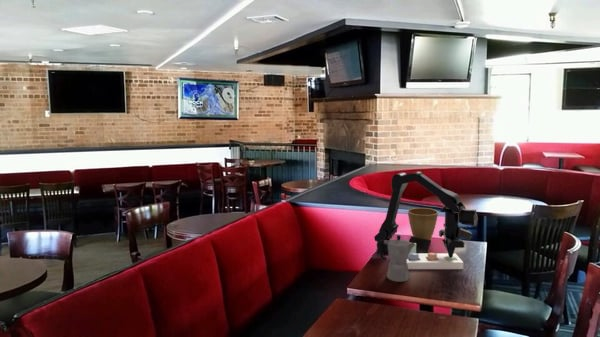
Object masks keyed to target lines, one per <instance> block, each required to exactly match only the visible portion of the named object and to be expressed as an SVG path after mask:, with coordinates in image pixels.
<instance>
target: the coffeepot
mask: <svg viewBox="0 0 600 337" xmlns="http://www.w3.org/2000/svg"><path fill="white" fill-rule="evenodd" d="M382 244H383V245H387V246H388V253H389V254H388V258H389V260H390V261H389V263H388V267H387V268H388V269H387V273H386V277H387V279H388V280H389V281H392V282H397V283H401V282H402V283H403V282H407V281H409V280H410V277H411V276H410V271H409V270H410V269H408V264H407V259H408V255H409V252H410V251H411V249H412V248H413V246H415V244H414V243H411V242H409V241H408V240H405V239H401V235H396V239H390V240H389V241H388V240H380V241H379V242H378V243H377V242H376V249H377V248H378V251H379V256H380V259H381V260H383V261H386V260H387V257H385V256H384V254H383V252H382V247H381V245H382Z"/></svg>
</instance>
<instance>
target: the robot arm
mask: <svg viewBox="0 0 600 337" xmlns="http://www.w3.org/2000/svg"><path fill="white" fill-rule="evenodd" d="M390 182H391V185H390V186H391V195H390V200H389V202H388V207H387V212H386V216H385V219H384V221H383V222H382V224H381V226H380V227H379V230H378V233H377V234H375V235H374V237H373V239H374V241H375V242H376V244H377V243H378V242H379V241H380V240H388V241H389V240H392V238H393V237H394V236H395V235H396V233H398V227H399V224H398V223H397V222H396V219H397V215H398V211H399V207H400V202H401V200H402V195H403V192H404V191H405V189H406V187H407V186H408V184H409V183H412V182H416V183H417V184H419V185H421V186H422V188H425V189H426V190H427V191H429V192H430V193H431V194H433V195H435V197H437V199H438V200H439V201H440V203H441V204H443V207H442V209H440V210H439V212H441V213H444V223H443V228H444V229H440V230H438V236H439V237H440V238H442V237H443V239H442V244H443V246H444V247H445V251H446V253H448V255H449V257H452V256H453V253H455V250H456V249H457V248H458V249H459V248H460V249H463V248H465V241H463V240H462V239H461V238H463V239H465V240H467V241H470V240H471V238H472V236H473V232H471V231H470V230H468V228H467V227H466V226H472V227H476V226H477V225H478V221H479V217H478V213H477V209H467V208H466V206H465V205H464V203H463V202H462V201H461V200H462V199H461V196H460V195H459V194H458V193H455V192H454V191H452V190H448V189H446V188H443V187H442V186H441V185H439V183H437V182H435V181H433V180H432V179H431V178H429V177H428V176H426V175H425V174H423V172H422V171H415V172H410V173H406V172H399V173H396V174H394V175H393V176H392V178H391V181H390ZM459 223H460V224H461V225H462V226H460V225H459ZM465 225H466V226H465ZM381 247H382V252H383V255H389V253H388V246H387V245H383V244H382V245H381ZM375 252H376V254H377V253H378V254H379V251H378V248H377V247H376V249H375ZM378 254H377V255H378ZM379 255H380V254H379Z"/></svg>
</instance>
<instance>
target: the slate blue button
mask: <svg viewBox="0 0 600 337" xmlns="http://www.w3.org/2000/svg"><path fill="white" fill-rule="evenodd" d="M412 260H419V254H418V253H410V254H409V261H412Z"/></svg>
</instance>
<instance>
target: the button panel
mask: <svg viewBox="0 0 600 337" xmlns="http://www.w3.org/2000/svg"><path fill="white" fill-rule="evenodd" d="M414 244H415V246H413V248H412V249H411V251H410V252H409V254H410V253H416V243H414ZM428 253H429V252H428ZM428 253H418V254H419V260H412V261H409V255H408V259H407V264H408V270H464V261H463V260H462V259H461V258H460V257H459V256H458V255H457V253H455V252H454V253H453V256H454V257H456V259H455V260H446V256H449V255H448V253H447V252H446V253H445V252H444V253H436V252H435V253H436V254H437V260H428Z"/></svg>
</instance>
